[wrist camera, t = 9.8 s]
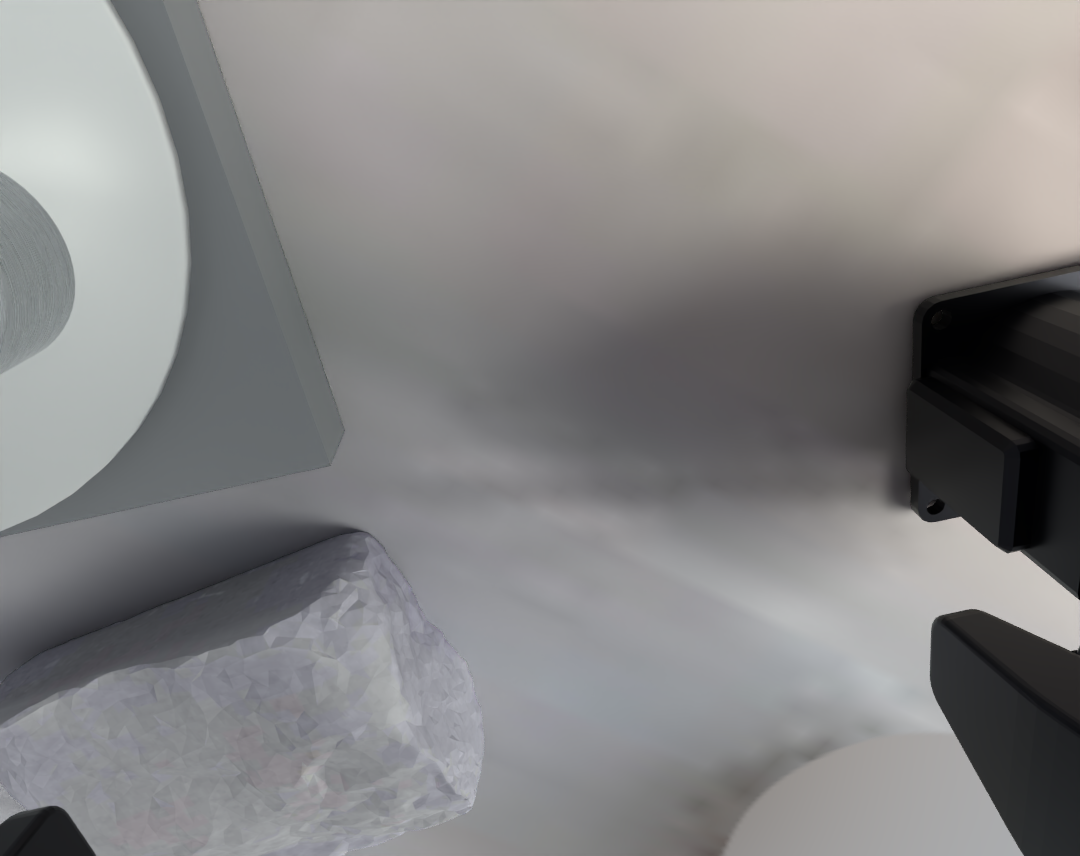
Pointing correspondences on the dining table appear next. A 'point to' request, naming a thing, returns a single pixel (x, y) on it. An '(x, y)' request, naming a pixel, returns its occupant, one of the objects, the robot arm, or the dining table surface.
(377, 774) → the stone block
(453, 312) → the dining table surface
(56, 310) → the cylinder
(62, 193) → the scale
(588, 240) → the dining table surface
